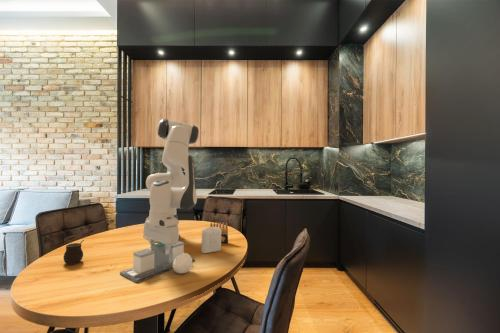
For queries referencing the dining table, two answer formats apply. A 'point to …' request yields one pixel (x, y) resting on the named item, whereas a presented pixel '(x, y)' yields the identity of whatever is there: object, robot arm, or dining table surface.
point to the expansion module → (160, 254)
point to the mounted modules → (146, 257)
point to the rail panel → (147, 272)
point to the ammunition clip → (222, 232)
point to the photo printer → (211, 239)
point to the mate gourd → (73, 253)
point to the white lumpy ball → (182, 263)
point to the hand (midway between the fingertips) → (159, 251)
